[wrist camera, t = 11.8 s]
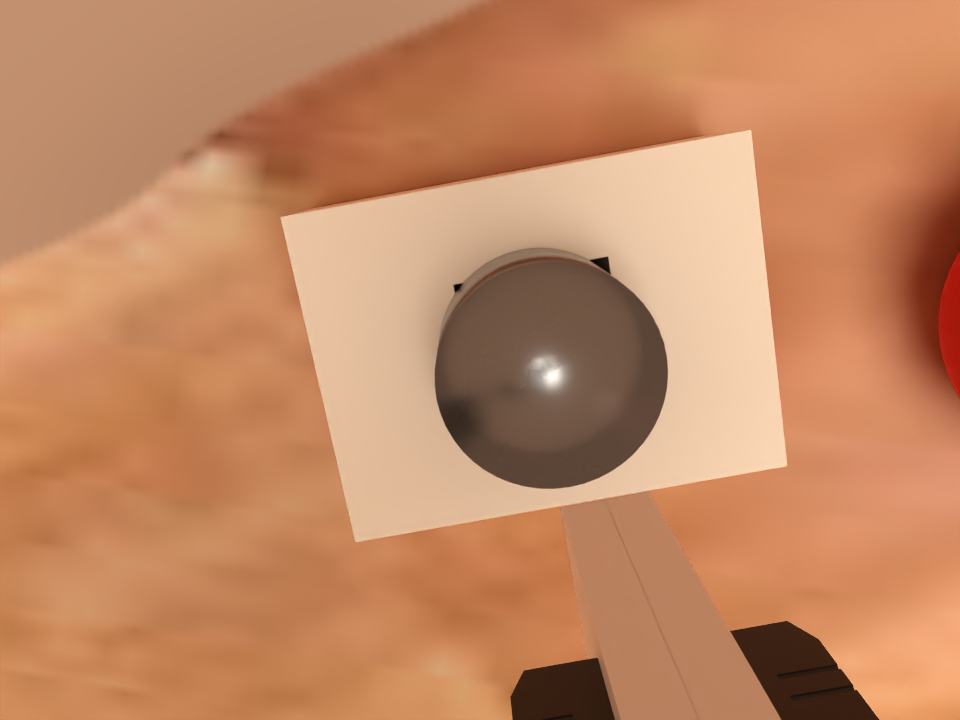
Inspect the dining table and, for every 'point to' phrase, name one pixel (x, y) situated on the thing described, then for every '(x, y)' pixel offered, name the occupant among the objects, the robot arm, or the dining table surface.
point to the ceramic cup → (951, 324)
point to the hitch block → (541, 224)
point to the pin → (548, 369)
